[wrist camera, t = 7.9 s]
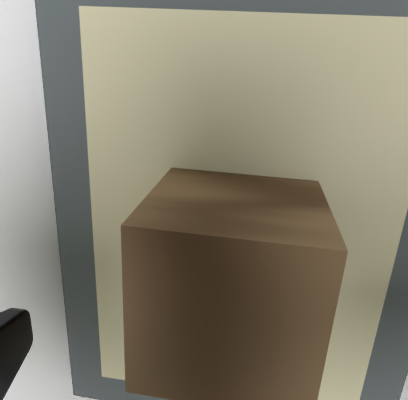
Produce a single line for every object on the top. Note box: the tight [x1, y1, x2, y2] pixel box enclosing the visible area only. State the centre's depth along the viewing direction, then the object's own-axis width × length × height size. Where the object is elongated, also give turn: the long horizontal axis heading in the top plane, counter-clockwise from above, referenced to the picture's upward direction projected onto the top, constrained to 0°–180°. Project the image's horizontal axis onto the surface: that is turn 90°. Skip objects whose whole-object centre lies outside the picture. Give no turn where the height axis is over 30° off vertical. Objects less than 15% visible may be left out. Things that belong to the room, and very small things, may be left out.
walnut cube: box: [121, 167, 348, 400], centre depth 12 cm, size 5×5×5 cm
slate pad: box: [35, 0, 408, 400], centre depth 14 cm, size 14×18×1 cm
